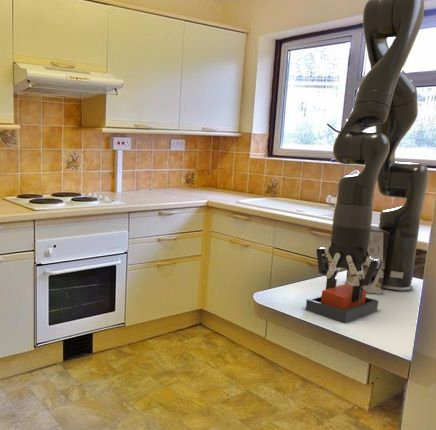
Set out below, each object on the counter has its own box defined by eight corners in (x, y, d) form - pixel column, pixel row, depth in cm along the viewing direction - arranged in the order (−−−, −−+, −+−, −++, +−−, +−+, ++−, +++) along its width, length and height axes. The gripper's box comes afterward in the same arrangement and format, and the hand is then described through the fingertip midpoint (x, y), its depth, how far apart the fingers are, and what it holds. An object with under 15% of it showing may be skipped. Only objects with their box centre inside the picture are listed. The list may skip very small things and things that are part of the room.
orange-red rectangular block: (343, 299, 109) (345, 283, 108) (364, 306, 105) (366, 290, 104) (319, 307, 103) (322, 290, 102) (341, 314, 99) (343, 297, 98)
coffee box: (382, 294, 116) (390, 232, 114) (355, 291, 117) (362, 230, 115) (370, 283, 125) (377, 226, 123) (344, 281, 126) (351, 224, 124)
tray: (338, 298, 111) (339, 289, 111) (377, 310, 104) (378, 300, 104) (305, 309, 103) (306, 299, 103) (345, 322, 96) (346, 312, 96)
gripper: (394, 228, 97) (383, 304, 100) (329, 217, 109) (321, 286, 111) (377, 230, 93) (367, 310, 95) (311, 219, 104) (304, 291, 107)
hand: (342, 297), depth 103 cm, fingers closed on orange-red rectangular block, 5 cm apart
